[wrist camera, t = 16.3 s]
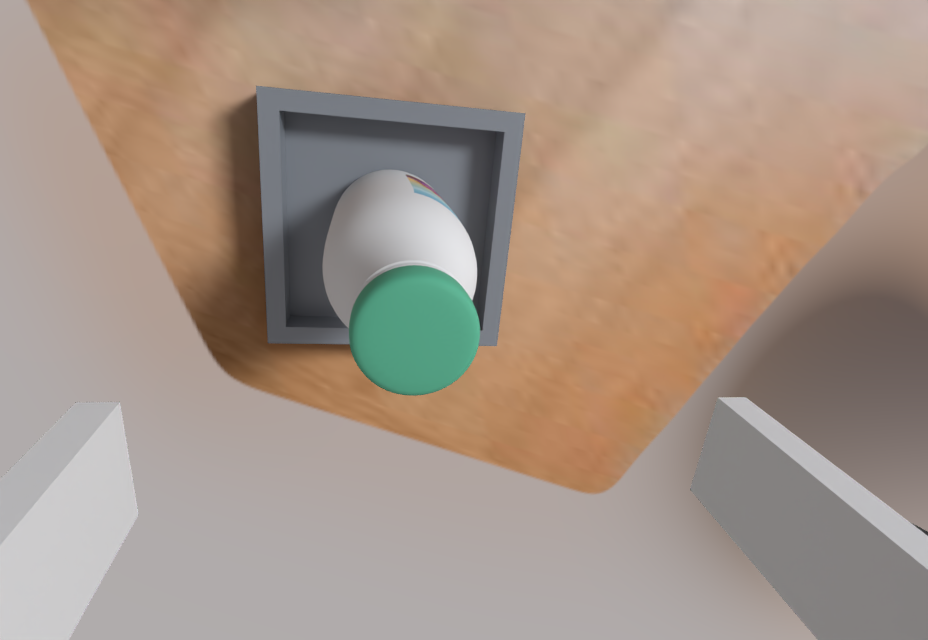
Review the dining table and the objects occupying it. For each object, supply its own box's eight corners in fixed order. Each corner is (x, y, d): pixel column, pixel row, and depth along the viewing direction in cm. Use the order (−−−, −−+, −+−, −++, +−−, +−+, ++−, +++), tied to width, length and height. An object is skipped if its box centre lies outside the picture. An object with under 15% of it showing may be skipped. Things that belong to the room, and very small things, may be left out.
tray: (265, 88, 33) (256, 85, 30) (512, 113, 36) (525, 113, 33) (274, 326, 38) (267, 343, 35) (487, 330, 41) (496, 346, 39)
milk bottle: (342, 285, 37) (320, 452, 19) (325, 172, 34) (278, 241, 16) (449, 273, 38) (527, 420, 20) (441, 163, 35) (524, 217, 17)
